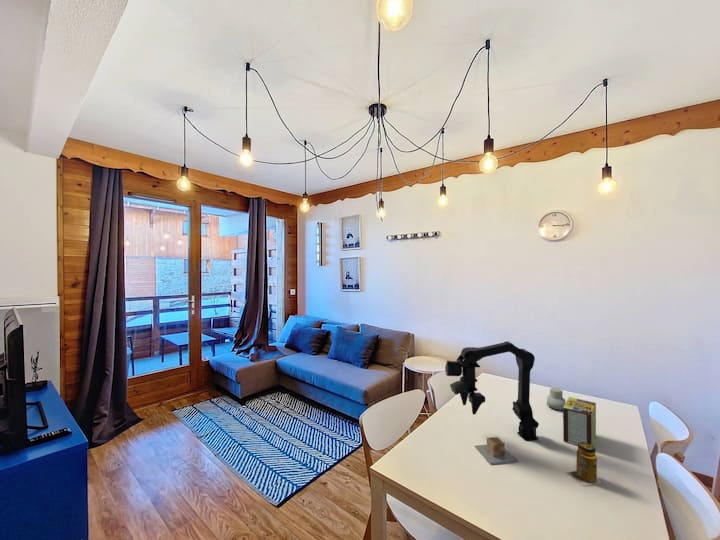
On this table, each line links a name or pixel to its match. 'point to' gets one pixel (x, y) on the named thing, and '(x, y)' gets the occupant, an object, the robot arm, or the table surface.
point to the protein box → (579, 421)
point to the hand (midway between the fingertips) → (469, 409)
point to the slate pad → (495, 460)
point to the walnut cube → (495, 446)
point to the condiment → (585, 465)
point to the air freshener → (555, 399)
